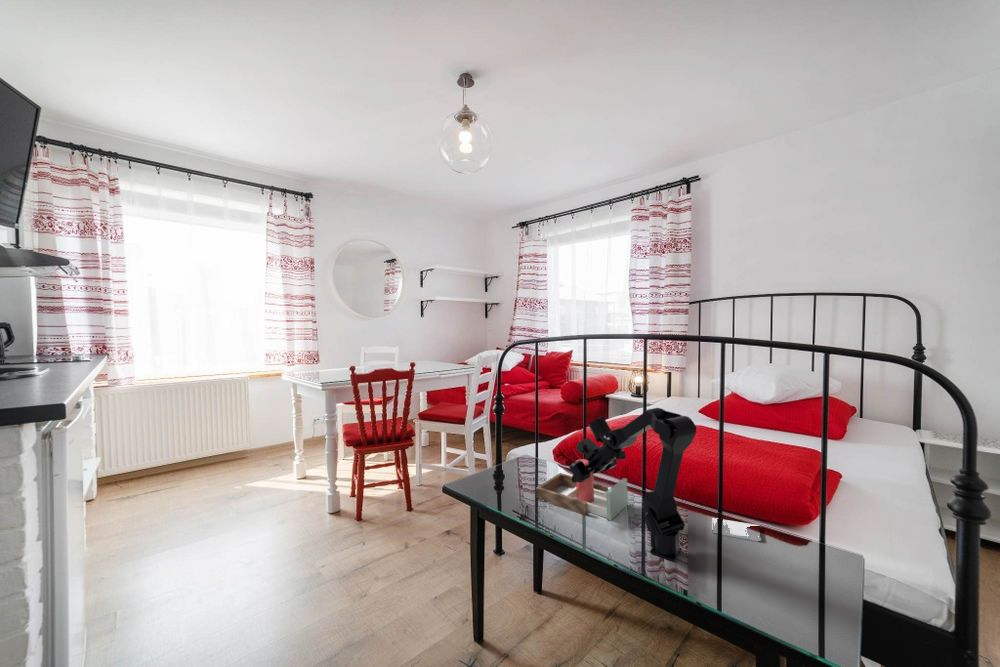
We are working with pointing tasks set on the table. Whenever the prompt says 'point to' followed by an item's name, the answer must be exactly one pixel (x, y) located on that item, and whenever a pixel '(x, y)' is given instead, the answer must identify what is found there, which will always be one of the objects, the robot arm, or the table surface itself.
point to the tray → (607, 500)
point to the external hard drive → (735, 527)
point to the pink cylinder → (585, 487)
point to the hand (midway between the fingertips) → (581, 476)
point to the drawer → (562, 500)
